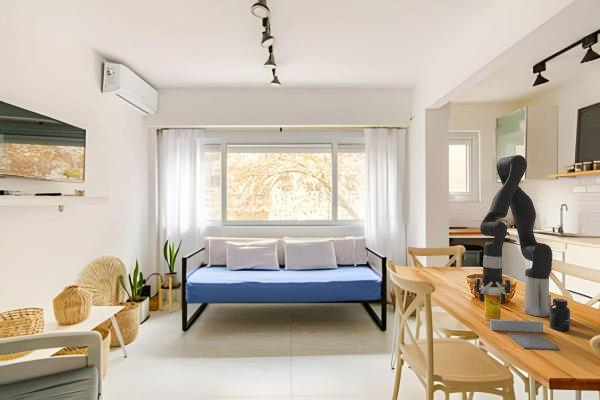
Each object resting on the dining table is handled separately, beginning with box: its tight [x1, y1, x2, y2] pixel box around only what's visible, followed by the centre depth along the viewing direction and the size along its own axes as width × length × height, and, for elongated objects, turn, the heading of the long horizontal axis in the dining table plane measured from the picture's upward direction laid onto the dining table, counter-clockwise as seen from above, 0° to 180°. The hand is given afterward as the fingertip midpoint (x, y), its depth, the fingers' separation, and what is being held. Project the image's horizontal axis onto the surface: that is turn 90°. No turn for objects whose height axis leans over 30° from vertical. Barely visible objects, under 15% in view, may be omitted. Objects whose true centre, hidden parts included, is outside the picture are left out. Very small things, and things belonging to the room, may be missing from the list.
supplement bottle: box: [549, 298, 571, 332], centre depth 142 cm, size 7×7×12 cm
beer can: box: [484, 287, 502, 322], centre depth 152 cm, size 6×6×15 cm
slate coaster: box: [506, 332, 560, 351], centre depth 129 cm, size 12×12×1 cm
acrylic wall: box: [489, 319, 544, 333], centre depth 139 cm, size 20×1×4 cm, turn 84°
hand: (491, 302), depth 152 cm, fingers open, 8 cm apart
